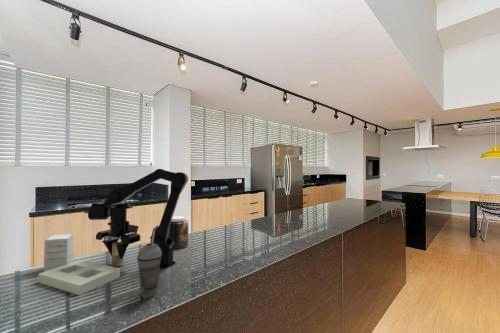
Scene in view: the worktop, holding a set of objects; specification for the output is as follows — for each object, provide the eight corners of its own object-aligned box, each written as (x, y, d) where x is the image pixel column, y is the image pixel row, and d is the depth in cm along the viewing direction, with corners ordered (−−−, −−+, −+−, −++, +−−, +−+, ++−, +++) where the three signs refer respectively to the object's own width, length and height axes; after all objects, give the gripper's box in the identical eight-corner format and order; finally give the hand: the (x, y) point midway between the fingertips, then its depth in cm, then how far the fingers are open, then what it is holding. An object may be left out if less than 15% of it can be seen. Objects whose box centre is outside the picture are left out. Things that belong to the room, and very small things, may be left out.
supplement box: (51, 266, 93) (52, 235, 93) (73, 263, 96) (74, 233, 96) (42, 273, 86) (44, 239, 86) (66, 270, 89) (67, 237, 89)
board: (120, 276, 84) (120, 268, 84) (79, 295, 71) (79, 285, 71) (80, 267, 92) (81, 259, 92) (38, 282, 79) (38, 273, 79)
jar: (165, 251, 112) (165, 220, 113) (163, 244, 123) (164, 216, 124) (189, 248, 117) (190, 218, 118) (186, 241, 128) (186, 214, 128)
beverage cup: (141, 288, 75) (142, 227, 76) (164, 287, 76) (165, 227, 77) (132, 300, 68) (133, 232, 69) (157, 299, 69) (158, 232, 70)
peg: (125, 262, 94) (125, 242, 94) (116, 265, 90) (116, 245, 90) (118, 260, 95) (118, 241, 96) (109, 264, 92) (109, 244, 92)
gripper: (151, 217, 97) (150, 254, 97) (119, 214, 104) (118, 249, 104) (128, 222, 87) (127, 264, 86) (95, 218, 94) (94, 257, 93)
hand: (117, 257), depth 93 cm, fingers closed on peg, 4 cm apart
